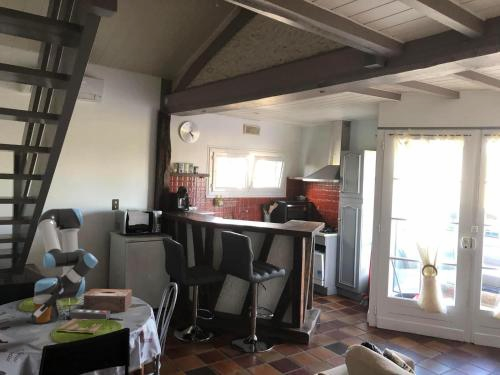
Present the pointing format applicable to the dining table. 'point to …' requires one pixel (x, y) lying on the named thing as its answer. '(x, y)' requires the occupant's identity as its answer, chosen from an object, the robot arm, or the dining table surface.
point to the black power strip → (91, 314)
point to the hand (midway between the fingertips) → (36, 312)
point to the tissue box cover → (108, 300)
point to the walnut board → (74, 326)
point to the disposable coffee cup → (39, 302)
